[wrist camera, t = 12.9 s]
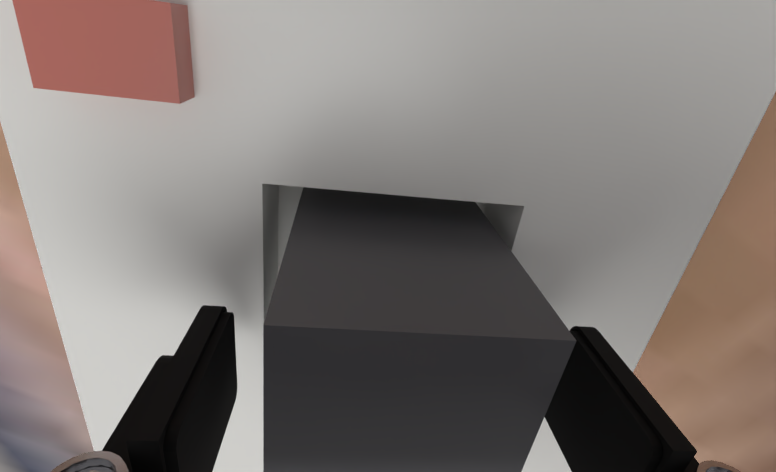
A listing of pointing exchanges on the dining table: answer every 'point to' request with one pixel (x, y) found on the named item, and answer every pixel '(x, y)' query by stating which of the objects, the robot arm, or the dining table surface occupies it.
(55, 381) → the dining table surface
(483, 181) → the socket
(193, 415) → the robot arm
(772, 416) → the dining table surface
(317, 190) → the plug
